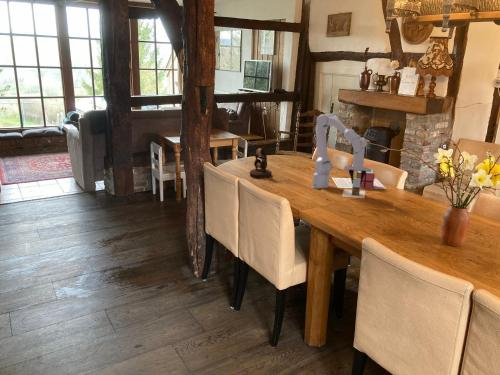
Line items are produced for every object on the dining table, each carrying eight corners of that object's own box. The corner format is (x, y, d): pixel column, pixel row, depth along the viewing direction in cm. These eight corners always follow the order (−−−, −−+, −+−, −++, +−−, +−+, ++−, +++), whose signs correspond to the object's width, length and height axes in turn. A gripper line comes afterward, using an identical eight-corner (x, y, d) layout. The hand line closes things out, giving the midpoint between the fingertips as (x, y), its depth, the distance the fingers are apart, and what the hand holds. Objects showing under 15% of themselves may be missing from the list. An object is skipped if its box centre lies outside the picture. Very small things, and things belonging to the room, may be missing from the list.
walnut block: (351, 195, 233) (352, 188, 232) (352, 193, 237) (352, 186, 236) (359, 195, 232) (359, 188, 231) (359, 193, 236) (359, 186, 235)
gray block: (352, 186, 232) (352, 180, 231) (352, 185, 236) (353, 178, 234) (359, 187, 231) (360, 180, 230) (360, 185, 235) (360, 178, 233)
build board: (342, 197, 231) (342, 196, 231) (344, 190, 244) (344, 189, 244) (364, 199, 228) (364, 198, 228) (365, 192, 241) (365, 191, 241)
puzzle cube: (373, 189, 247) (374, 173, 244) (355, 188, 249) (357, 172, 246) (371, 185, 256) (373, 169, 253) (355, 184, 258) (356, 168, 255)
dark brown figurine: (276, 176, 274) (276, 146, 269) (257, 179, 266) (258, 149, 261) (262, 172, 286) (263, 143, 280) (245, 175, 278) (245, 145, 272)
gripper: (344, 160, 227) (342, 184, 231) (371, 162, 223) (369, 186, 227) (345, 157, 234) (343, 180, 238) (372, 159, 230) (369, 183, 234)
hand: (356, 183), depth 233 cm, fingers closed on gray block, 4 cm apart
